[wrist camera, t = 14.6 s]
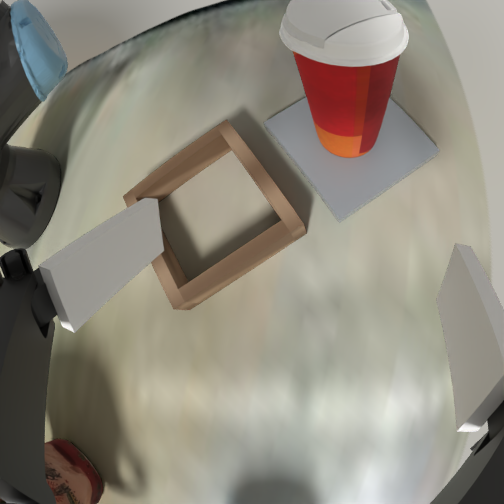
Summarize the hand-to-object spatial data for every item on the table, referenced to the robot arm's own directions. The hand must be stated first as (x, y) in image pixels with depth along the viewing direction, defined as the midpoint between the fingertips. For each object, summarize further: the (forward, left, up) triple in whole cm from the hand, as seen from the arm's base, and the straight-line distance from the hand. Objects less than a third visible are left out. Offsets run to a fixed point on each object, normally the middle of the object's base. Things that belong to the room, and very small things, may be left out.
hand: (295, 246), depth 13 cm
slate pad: (-9, +10, -13) cm, 19 cm away
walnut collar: (-10, -5, -13) cm, 17 cm away
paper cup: (-9, +10, -13) cm, 18 cm away
